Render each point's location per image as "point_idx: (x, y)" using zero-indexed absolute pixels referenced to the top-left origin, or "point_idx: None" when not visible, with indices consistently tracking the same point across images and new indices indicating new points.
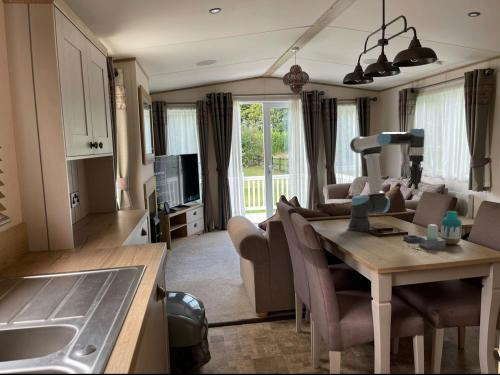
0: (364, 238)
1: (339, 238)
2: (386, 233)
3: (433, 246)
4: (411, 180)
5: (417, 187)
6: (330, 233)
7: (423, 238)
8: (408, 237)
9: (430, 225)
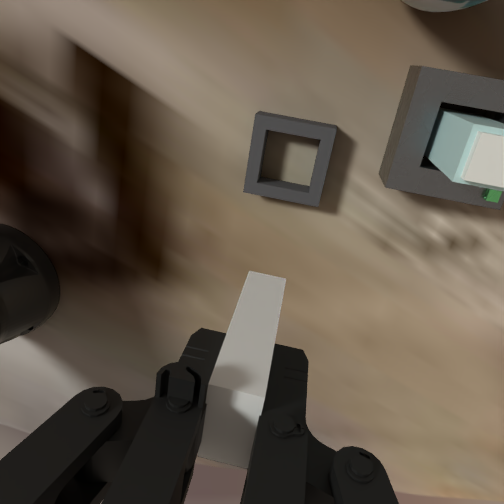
0: None
1: None
2: (99, 193)
3: None
4: (101, 492)
5: (305, 381)
6: None
7: (439, 197)
8: (295, 194)
9: (493, 185)
